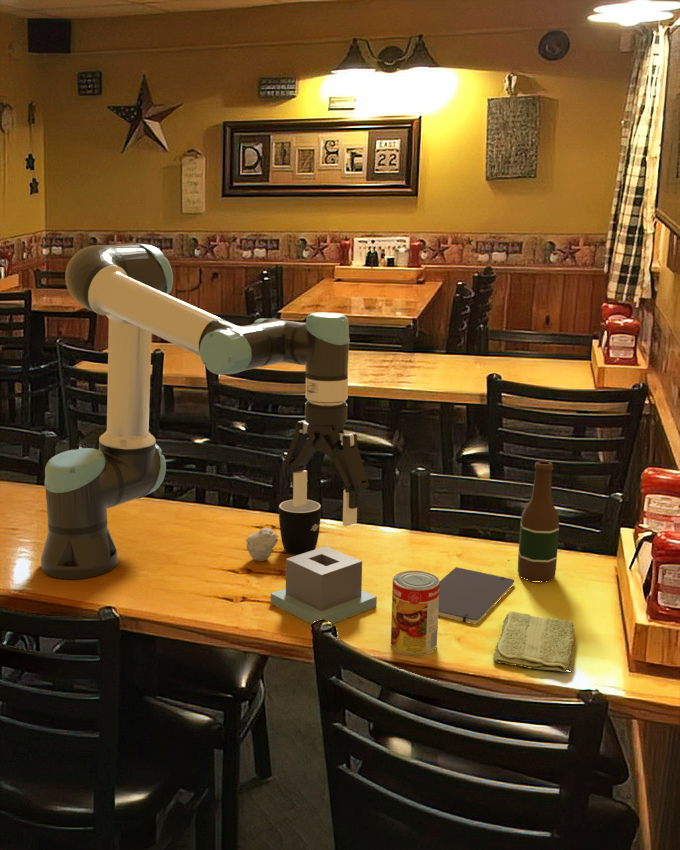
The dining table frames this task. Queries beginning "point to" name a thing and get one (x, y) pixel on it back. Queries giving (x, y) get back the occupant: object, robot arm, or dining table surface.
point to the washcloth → (536, 642)
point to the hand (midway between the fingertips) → (324, 514)
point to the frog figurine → (261, 544)
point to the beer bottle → (539, 529)
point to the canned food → (414, 612)
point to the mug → (299, 526)
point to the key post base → (329, 614)
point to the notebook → (470, 594)
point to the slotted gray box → (323, 578)
